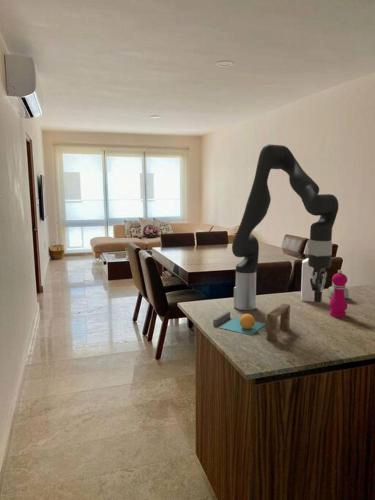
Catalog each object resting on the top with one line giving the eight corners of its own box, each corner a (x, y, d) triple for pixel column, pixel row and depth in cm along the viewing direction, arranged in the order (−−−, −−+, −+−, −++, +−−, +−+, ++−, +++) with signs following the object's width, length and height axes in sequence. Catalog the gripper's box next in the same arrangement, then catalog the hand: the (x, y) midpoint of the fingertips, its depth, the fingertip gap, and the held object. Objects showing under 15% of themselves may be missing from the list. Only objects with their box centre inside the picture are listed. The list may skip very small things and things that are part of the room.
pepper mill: (325, 312, 165) (328, 268, 161) (341, 312, 165) (344, 267, 162) (333, 318, 158) (336, 271, 154) (350, 317, 158) (352, 271, 155)
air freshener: (327, 295, 192) (328, 276, 190) (344, 295, 190) (345, 276, 189) (331, 301, 181) (332, 281, 180) (349, 302, 180) (350, 281, 178)
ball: (252, 318, 142) (252, 332, 143) (256, 312, 147) (257, 327, 148) (237, 315, 145) (237, 330, 146) (242, 310, 150) (242, 324, 151)
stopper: (213, 325, 151) (213, 319, 150) (227, 317, 160) (227, 311, 160) (215, 326, 150) (215, 320, 150) (230, 317, 160) (230, 312, 159)
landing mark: (218, 327, 148) (218, 327, 148) (235, 317, 160) (235, 317, 160) (251, 335, 140) (251, 334, 140) (266, 324, 152) (266, 323, 152)
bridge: (266, 339, 136) (267, 314, 135) (281, 326, 148) (282, 303, 147) (274, 341, 135) (275, 315, 133) (289, 328, 147) (290, 304, 145)
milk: (301, 301, 182) (302, 256, 179) (300, 297, 188) (302, 254, 185) (314, 301, 181) (316, 256, 177) (313, 298, 187) (315, 254, 183)
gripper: (314, 249, 136) (312, 295, 139) (303, 254, 125) (301, 304, 128) (336, 251, 132) (333, 298, 134) (326, 257, 121) (323, 308, 124)
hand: (317, 301), depth 131 cm, fingers closed
